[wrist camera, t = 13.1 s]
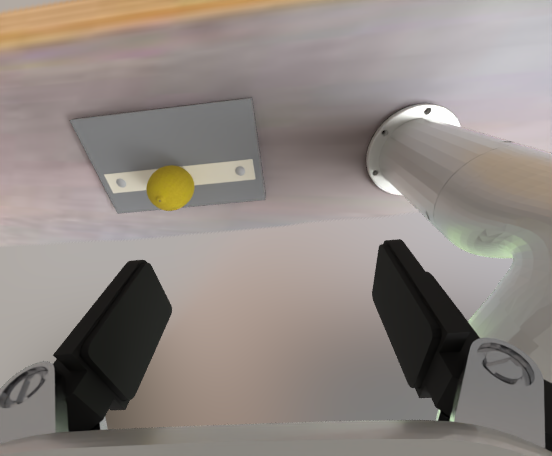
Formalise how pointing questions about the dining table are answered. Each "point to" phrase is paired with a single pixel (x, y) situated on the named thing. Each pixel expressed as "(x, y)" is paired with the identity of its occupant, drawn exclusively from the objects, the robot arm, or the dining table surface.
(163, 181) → the lemon
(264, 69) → the dining table surface
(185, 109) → the panel
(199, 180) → the strip
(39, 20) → the dining table surface
